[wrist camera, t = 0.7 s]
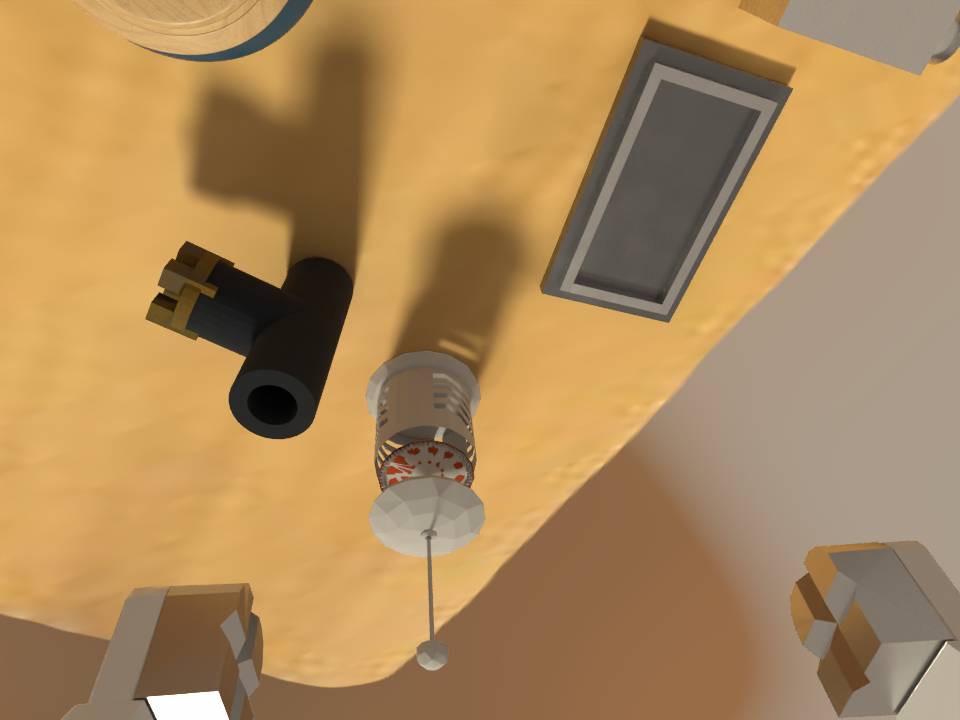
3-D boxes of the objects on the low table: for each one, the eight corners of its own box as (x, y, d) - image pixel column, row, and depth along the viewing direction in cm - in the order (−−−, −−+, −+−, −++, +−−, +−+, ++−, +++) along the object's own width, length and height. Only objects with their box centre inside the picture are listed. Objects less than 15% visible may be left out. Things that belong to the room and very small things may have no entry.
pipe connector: (192, 262, 53) (104, 375, 41) (215, 202, 51) (129, 302, 38) (336, 328, 57) (295, 452, 44) (364, 274, 54) (330, 390, 41)
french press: (460, 336, 59) (490, 596, 38) (499, 437, 65) (543, 704, 45) (347, 370, 60) (317, 641, 39) (397, 466, 66) (393, 740, 46)
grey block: (773, -72, 44) (819, -61, 39) (939, -9, 47) (1001, 8, 42) (737, 7, 46) (777, 26, 41) (897, 62, 49) (952, 86, 44)
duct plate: (640, 35, 46) (648, 41, 45) (786, 84, 49) (798, 92, 48) (539, 286, 56) (543, 298, 55) (665, 316, 59) (671, 328, 58)
